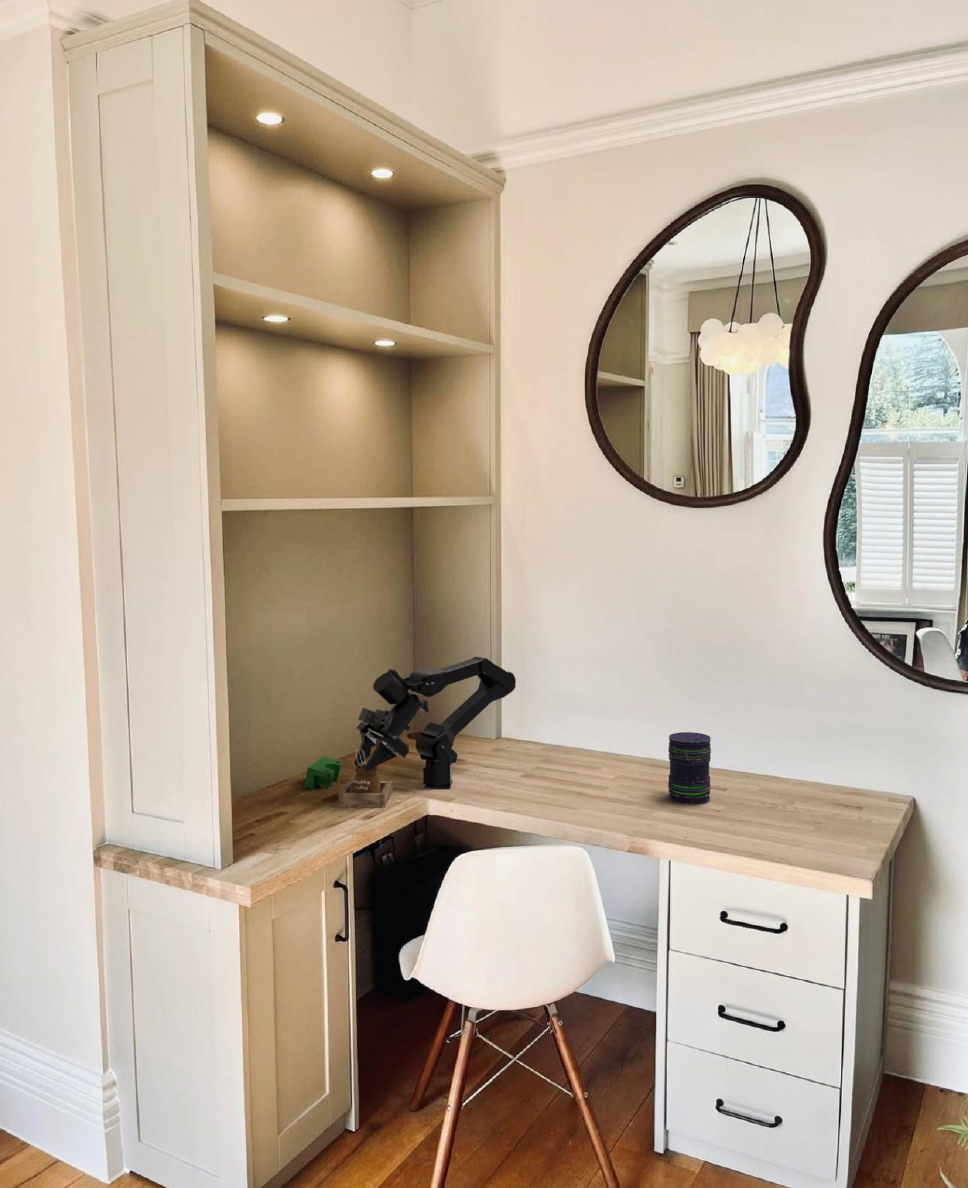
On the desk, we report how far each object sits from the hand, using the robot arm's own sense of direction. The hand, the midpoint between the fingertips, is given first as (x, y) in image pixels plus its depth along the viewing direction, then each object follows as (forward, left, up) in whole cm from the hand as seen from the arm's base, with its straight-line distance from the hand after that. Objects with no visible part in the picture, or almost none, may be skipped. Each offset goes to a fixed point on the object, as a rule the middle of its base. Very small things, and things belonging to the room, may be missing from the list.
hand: (360, 767), depth 238 cm
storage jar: (-78, -5, -9) cm, 79 cm away
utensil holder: (-2, 0, -7) cm, 7 cm away
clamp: (+12, -14, -9) cm, 20 cm away
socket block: (-1, -1, -9) cm, 9 cm away
